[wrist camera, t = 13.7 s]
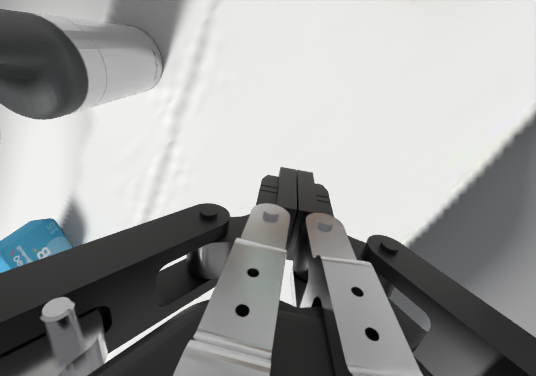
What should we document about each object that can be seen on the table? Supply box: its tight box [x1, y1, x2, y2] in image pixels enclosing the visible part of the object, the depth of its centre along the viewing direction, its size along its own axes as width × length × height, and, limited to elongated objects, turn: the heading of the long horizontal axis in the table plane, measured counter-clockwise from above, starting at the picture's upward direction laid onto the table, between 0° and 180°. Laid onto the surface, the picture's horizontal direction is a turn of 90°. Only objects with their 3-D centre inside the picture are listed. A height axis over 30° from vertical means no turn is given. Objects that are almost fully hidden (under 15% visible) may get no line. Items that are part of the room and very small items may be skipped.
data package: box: [0, 219, 73, 273], centre depth 55 cm, size 12×4×12 cm, turn 11°
